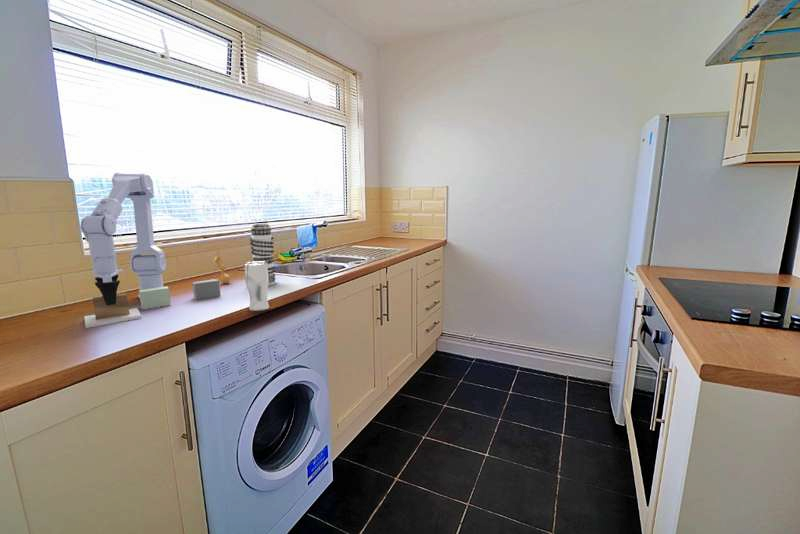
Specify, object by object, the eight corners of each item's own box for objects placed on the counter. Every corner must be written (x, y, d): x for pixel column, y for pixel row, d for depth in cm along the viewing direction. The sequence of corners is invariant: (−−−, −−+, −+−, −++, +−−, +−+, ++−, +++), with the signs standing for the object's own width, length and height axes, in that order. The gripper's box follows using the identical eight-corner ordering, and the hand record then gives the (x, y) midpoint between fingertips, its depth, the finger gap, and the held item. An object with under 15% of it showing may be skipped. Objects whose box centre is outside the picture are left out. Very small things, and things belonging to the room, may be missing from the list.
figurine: (225, 285, 154) (222, 256, 152) (211, 285, 154) (208, 256, 152) (235, 281, 162) (232, 253, 160) (222, 281, 162) (219, 253, 160)
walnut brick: (95, 316, 112) (92, 297, 111) (128, 311, 117) (126, 292, 116) (96, 319, 109) (92, 299, 108) (129, 314, 114) (126, 295, 113)
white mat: (84, 319, 113) (84, 316, 113) (137, 310, 121) (136, 307, 121) (85, 328, 105) (85, 324, 105) (141, 318, 114) (140, 315, 113)
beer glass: (264, 304, 127) (261, 260, 125) (274, 308, 122) (271, 263, 120) (244, 308, 123) (240, 263, 120) (253, 313, 118) (249, 266, 115)
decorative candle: (261, 280, 163) (256, 222, 158) (280, 281, 161) (276, 222, 156) (248, 285, 154) (243, 224, 149) (269, 286, 152) (264, 224, 148)
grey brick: (194, 298, 136) (192, 282, 135) (217, 294, 141) (216, 278, 140) (196, 300, 133) (194, 283, 132) (220, 296, 138) (218, 280, 137)
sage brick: (141, 307, 125) (138, 290, 124) (169, 303, 130) (166, 286, 129) (142, 310, 122) (140, 292, 121) (170, 305, 127) (168, 288, 126)
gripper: (121, 258, 107) (128, 304, 109) (119, 252, 118) (125, 294, 120) (89, 261, 102) (97, 309, 105) (90, 255, 113) (97, 298, 116)
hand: (110, 301), depth 112 cm, fingers open, 7 cm apart
